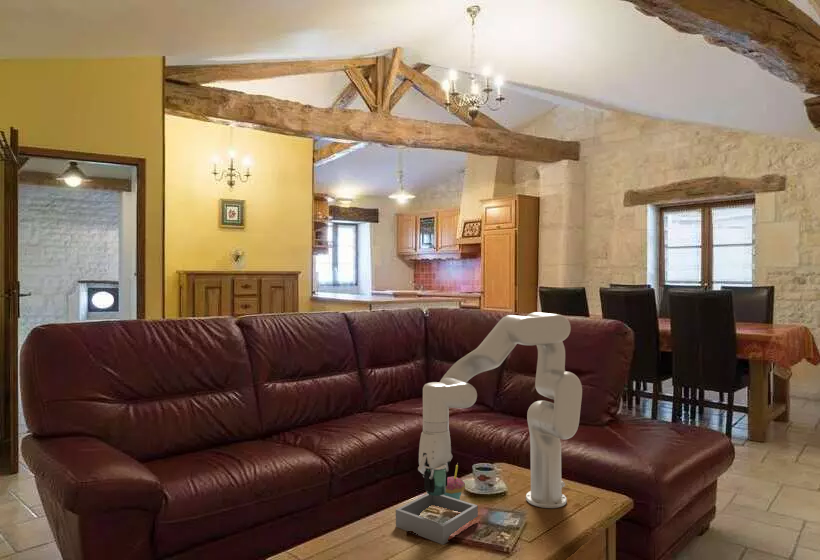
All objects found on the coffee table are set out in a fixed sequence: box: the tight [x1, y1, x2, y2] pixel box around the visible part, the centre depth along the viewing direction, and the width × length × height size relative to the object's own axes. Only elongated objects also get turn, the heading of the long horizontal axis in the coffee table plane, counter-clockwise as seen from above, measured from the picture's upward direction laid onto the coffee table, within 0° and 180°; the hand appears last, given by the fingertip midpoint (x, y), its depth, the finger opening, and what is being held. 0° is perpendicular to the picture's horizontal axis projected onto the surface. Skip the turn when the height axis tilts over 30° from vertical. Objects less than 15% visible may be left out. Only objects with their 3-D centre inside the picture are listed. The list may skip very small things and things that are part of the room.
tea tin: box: [426, 464, 446, 496], centre depth 163 cm, size 6×6×8 cm
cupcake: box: [444, 462, 466, 500], centre depth 181 cm, size 9×8×12 cm
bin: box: [395, 492, 479, 546], centre depth 164 cm, size 17×17×5 cm
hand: (435, 487), depth 163 cm, fingers closed on tea tin, 5 cm apart
